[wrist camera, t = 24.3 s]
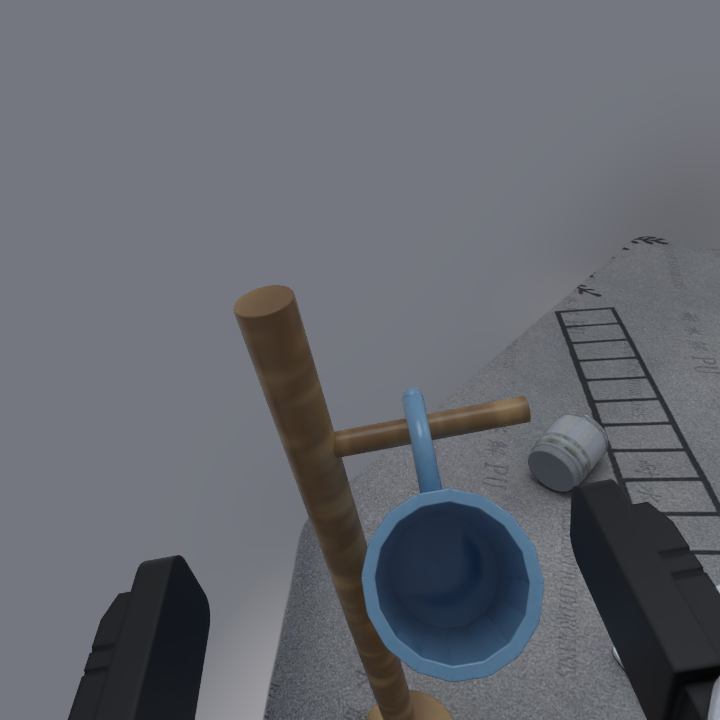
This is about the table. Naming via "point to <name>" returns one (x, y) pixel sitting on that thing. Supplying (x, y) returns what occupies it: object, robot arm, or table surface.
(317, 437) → the stand
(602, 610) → the robot arm
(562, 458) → the camera lens
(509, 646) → the mug
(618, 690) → the table surface
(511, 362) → the table surface
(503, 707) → the table surface
